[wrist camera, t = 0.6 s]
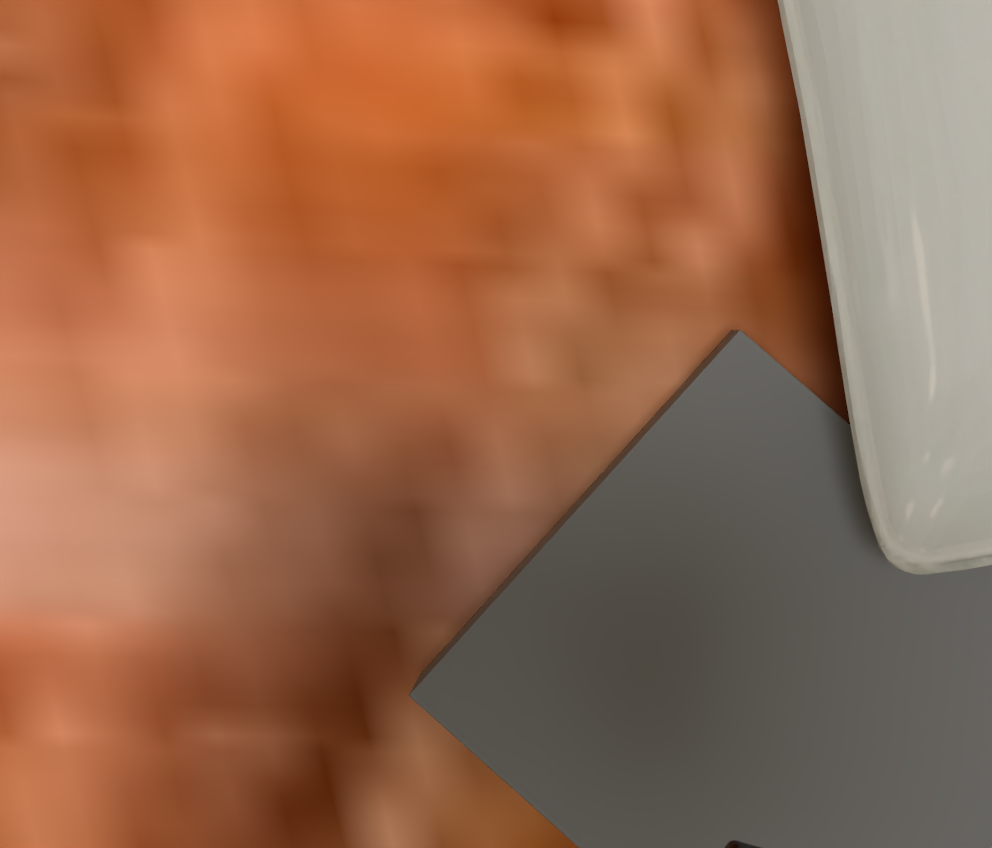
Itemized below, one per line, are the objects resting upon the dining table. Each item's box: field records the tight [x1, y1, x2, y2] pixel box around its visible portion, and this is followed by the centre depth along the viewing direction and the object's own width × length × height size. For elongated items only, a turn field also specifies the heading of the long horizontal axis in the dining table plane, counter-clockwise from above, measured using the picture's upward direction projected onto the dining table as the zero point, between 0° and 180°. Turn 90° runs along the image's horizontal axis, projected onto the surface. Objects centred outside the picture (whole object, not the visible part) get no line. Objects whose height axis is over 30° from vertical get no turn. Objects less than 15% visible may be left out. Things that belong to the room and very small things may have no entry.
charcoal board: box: [409, 330, 992, 848], centre depth 24 cm, size 13×20×2 cm, turn 49°
